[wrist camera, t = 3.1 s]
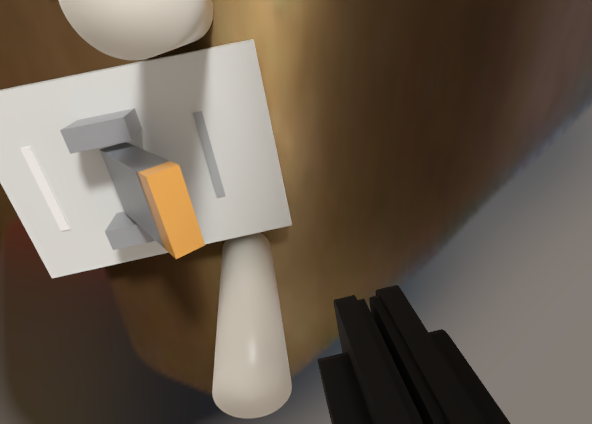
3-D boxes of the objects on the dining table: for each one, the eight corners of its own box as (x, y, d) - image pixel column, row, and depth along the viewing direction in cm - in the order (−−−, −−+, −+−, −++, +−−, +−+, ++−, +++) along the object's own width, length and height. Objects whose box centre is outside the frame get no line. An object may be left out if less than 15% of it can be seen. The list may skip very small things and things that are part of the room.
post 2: (265, 224, 32) (283, 352, 20) (275, 266, 34) (298, 408, 21) (216, 235, 32) (202, 371, 20) (229, 276, 34) (223, 426, 21)
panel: (252, 38, 27) (255, 41, 22) (289, 214, 32) (297, 243, 28) (-25, 94, 26) (-78, 108, 21) (62, 263, 31) (34, 301, 27)
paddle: (125, 141, 26) (179, 164, 19) (148, 203, 28) (205, 245, 21) (99, 149, 25) (146, 176, 18) (125, 213, 27) (176, 259, 20)
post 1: (203, -35, 24) (166, -98, 12) (220, 36, 26) (204, 47, 14) (138, -22, 24) (30, -72, 12) (159, 48, 26) (85, 71, 13)
